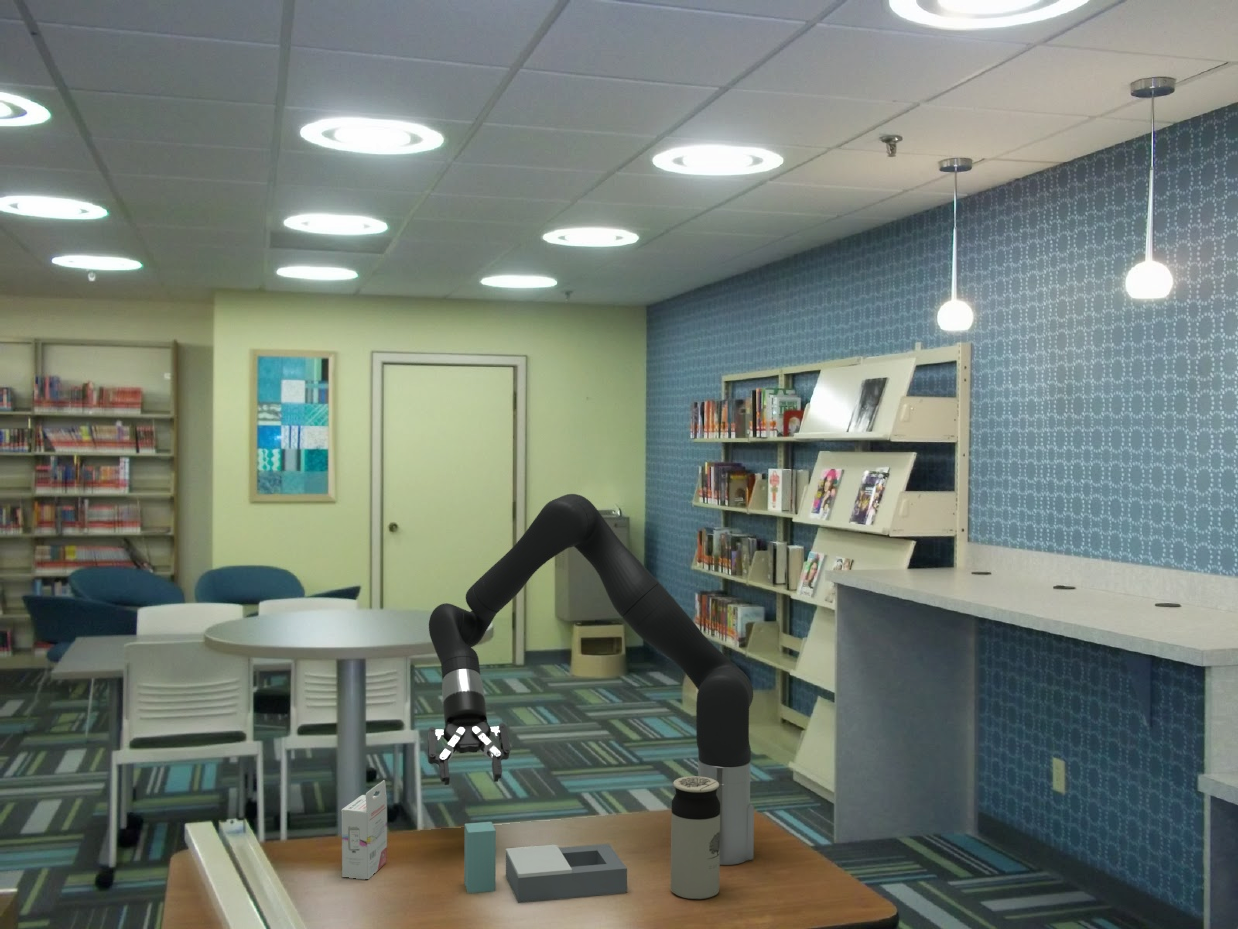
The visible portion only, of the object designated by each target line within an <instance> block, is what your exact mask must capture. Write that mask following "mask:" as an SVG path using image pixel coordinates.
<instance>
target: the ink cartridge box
mask: <svg viewBox="0 0 1238 929" xmlns="http://www.w3.org/2000/svg"><path fill="white" fill-rule="evenodd" d="M376 792H377V793H378V794H377V795H375V794H376ZM340 811H341V863H342V864H341V865H342V866H341V869H342V871H341V875H342V876H341V877H349V878H348V879H353V878H356V879H355V880H365V879H368V880H369V879H370V878H372V877H373V876H374V875H373V874H374V873H375V874H376V873H377V872H378V871H379V870H380V869H382V867H384V866H385V865H386V863H387V862H388V797H387V786H386V780H385V779H383V780H382V781H381V782H379V783H378V784H376V785H375V786H373V787H372V788H371V789H369V790H368V791H366V793H365V794H361V795H360V796H358V797H357V798H356V799H355V800H353V801H352V802H350V803H349V804H347V805H346V806H344V807H343V808H342V809H341V810H340Z"/></svg>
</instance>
